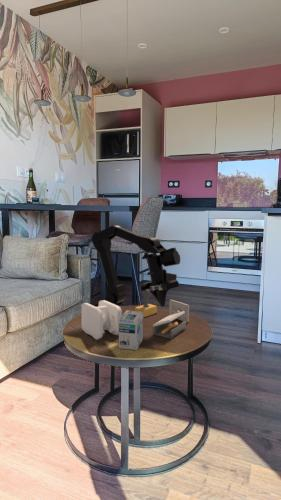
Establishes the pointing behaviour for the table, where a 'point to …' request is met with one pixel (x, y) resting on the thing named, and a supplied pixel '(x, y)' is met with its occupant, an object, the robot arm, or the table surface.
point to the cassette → (183, 307)
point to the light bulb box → (130, 330)
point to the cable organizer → (100, 318)
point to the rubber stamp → (146, 305)
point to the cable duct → (169, 329)
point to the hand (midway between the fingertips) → (163, 306)
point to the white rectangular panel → (168, 318)
